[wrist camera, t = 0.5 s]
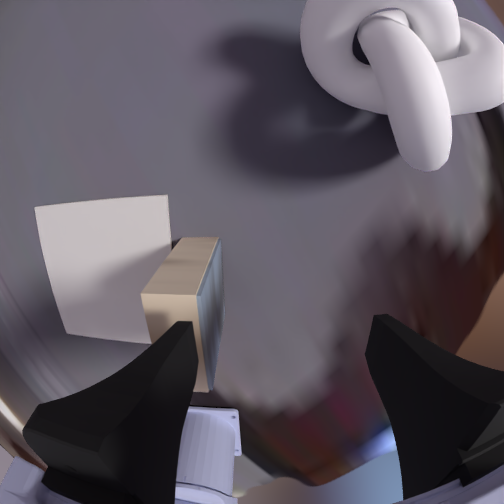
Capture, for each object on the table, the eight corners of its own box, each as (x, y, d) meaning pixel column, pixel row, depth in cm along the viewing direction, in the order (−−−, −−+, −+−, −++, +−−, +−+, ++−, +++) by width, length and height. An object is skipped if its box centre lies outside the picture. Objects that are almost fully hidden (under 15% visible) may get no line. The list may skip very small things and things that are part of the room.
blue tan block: (225, 314, 22) (212, 392, 14) (190, 313, 22) (163, 388, 14) (221, 237, 19) (200, 294, 12) (181, 237, 19) (140, 293, 12)
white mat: (185, 343, 23) (184, 346, 22) (68, 331, 23) (66, 333, 22) (167, 194, 18) (166, 195, 18) (36, 206, 19) (34, 207, 18)
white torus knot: (389, -15, 12) (445, -68, 4) (474, 113, 16) (557, 114, 7) (271, 36, 15) (283, -38, 6) (376, 182, 18) (456, 214, 10)
